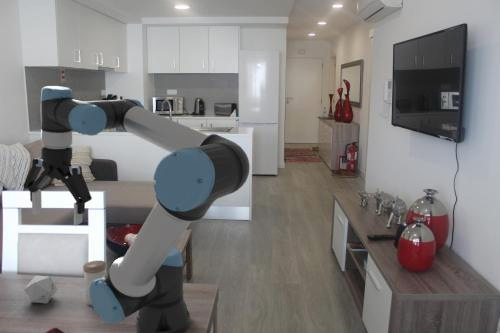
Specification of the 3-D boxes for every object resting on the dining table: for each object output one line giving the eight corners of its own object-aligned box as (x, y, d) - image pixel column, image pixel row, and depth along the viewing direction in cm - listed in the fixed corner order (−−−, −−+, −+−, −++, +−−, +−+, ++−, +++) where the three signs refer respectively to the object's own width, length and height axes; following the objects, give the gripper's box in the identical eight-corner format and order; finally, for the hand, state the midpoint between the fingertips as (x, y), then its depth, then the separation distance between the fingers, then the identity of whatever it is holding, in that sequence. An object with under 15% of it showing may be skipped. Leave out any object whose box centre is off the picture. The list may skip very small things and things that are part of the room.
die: (33, 313, 127) (52, 286, 127) (13, 295, 129) (32, 269, 129) (49, 308, 135) (67, 283, 136) (30, 292, 137) (48, 267, 137)
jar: (113, 298, 135) (110, 263, 132) (95, 308, 129) (92, 272, 126) (99, 292, 138) (96, 258, 136) (81, 301, 133) (78, 266, 130)
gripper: (106, 151, 113) (104, 223, 119) (28, 134, 118) (30, 204, 124) (88, 157, 106) (87, 233, 112) (7, 139, 111) (10, 212, 117)
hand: (57, 218), depth 118 cm, fingers open, 13 cm apart
